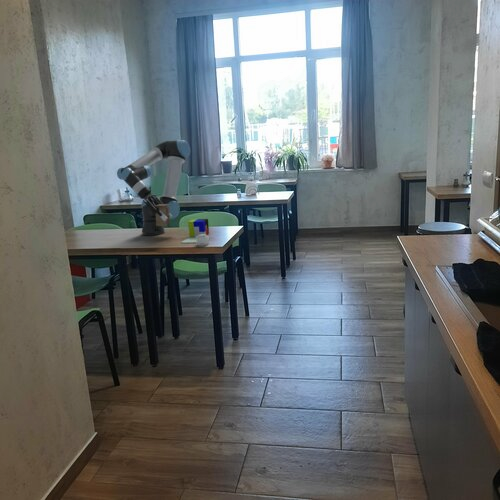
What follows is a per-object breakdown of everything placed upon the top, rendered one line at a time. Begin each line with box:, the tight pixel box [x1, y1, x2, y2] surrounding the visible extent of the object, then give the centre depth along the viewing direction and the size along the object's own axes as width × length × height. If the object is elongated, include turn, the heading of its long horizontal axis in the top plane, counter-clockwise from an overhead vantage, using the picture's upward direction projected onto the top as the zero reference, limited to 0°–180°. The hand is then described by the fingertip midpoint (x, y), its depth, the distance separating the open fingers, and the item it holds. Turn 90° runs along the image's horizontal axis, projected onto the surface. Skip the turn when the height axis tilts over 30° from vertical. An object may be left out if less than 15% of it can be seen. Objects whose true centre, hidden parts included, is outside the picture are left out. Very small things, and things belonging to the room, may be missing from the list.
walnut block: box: [156, 204, 171, 227], centre depth 277 cm, size 6×6×12 cm
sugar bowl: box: [196, 234, 210, 247], centre depth 271 cm, size 7×7×6 cm
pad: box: [180, 236, 211, 244], centre depth 284 cm, size 14×14×1 cm
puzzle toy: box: [187, 218, 210, 237], centre depth 299 cm, size 10×10×10 cm
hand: (168, 218), depth 276 cm, fingers closed on walnut block, 6 cm apart
